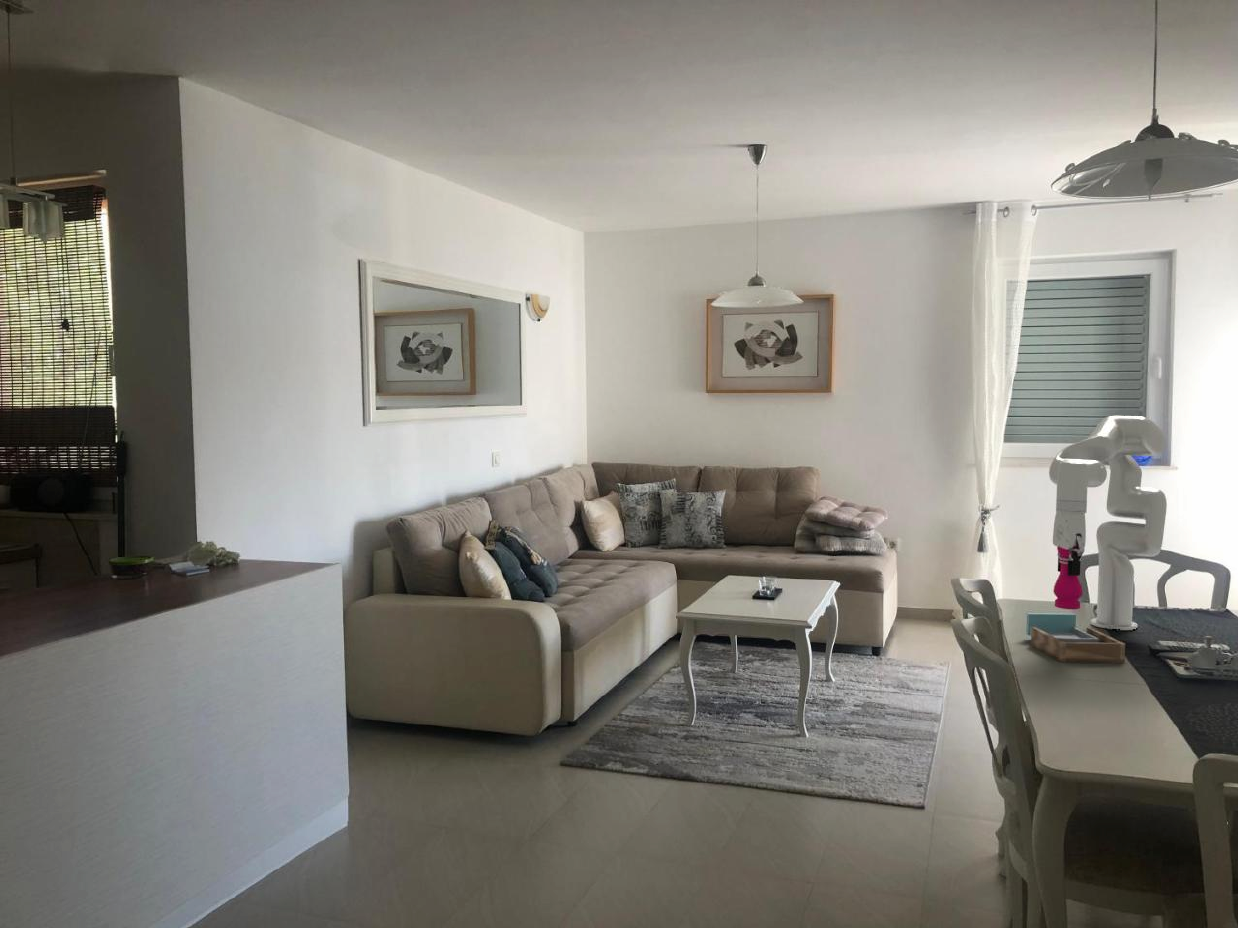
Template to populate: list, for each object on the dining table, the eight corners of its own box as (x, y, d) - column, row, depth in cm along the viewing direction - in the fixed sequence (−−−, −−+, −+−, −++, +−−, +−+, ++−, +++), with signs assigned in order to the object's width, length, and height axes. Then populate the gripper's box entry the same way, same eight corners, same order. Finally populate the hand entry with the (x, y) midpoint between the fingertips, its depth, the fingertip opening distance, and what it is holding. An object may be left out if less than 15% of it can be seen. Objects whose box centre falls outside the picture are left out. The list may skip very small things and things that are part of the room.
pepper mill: (1076, 605, 272) (1079, 532, 270) (1086, 610, 264) (1089, 536, 263) (1049, 604, 272) (1051, 532, 271) (1058, 609, 265) (1060, 535, 264)
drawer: (1026, 633, 279) (1027, 612, 279) (1072, 634, 279) (1073, 613, 279) (1050, 647, 263) (1051, 625, 263) (1100, 648, 263) (1101, 626, 263)
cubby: (1031, 644, 272) (1031, 627, 272) (1090, 645, 272) (1091, 627, 272) (1060, 662, 254) (1061, 643, 254) (1124, 662, 254) (1125, 643, 254)
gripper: (1043, 503, 275) (1041, 568, 276) (1071, 509, 258) (1069, 578, 259) (1070, 503, 275) (1068, 568, 276) (1100, 510, 258) (1097, 579, 259)
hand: (1068, 572), depth 268 cm, fingers closed on pepper mill, 5 cm apart
